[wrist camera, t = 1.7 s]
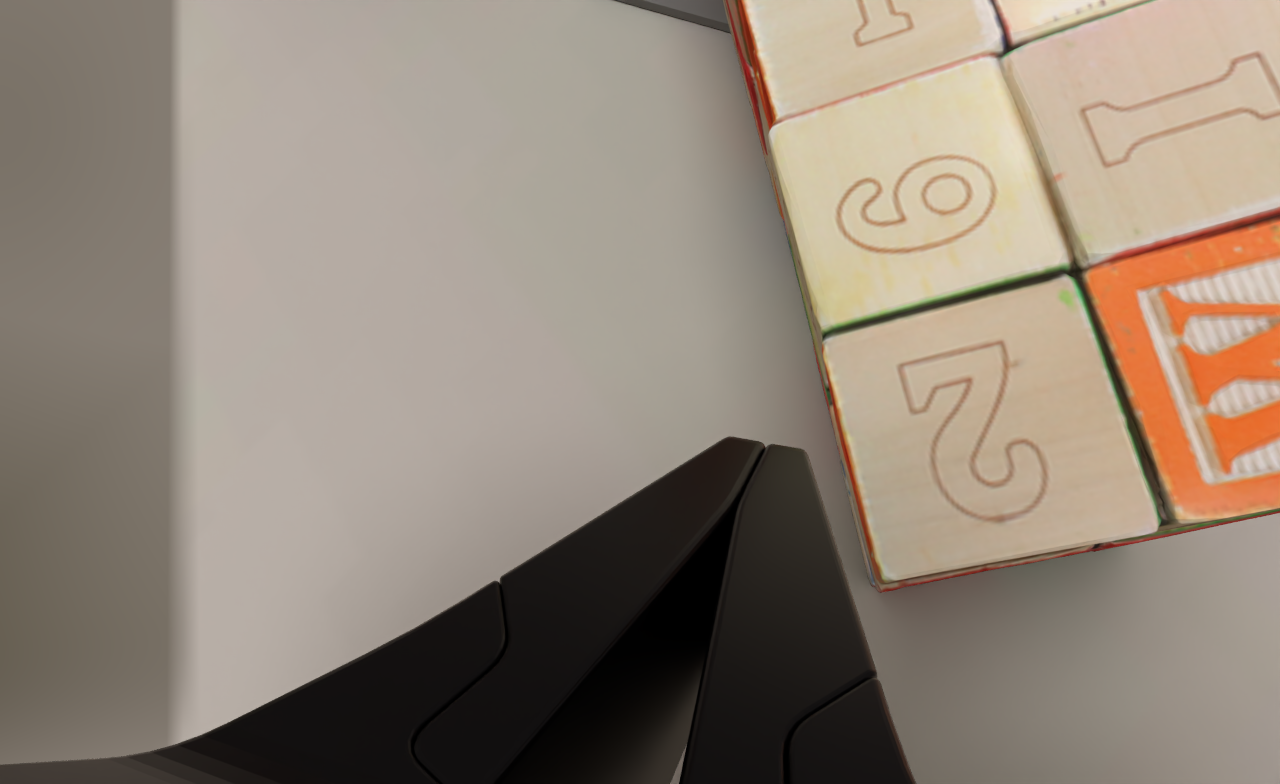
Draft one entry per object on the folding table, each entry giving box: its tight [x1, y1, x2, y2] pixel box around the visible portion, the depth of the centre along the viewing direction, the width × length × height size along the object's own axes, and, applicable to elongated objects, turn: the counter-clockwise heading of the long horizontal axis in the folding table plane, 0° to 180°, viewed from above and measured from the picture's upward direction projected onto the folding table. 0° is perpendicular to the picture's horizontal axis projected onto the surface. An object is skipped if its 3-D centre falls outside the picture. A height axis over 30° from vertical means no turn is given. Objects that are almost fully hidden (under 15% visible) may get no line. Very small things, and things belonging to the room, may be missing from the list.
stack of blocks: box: [723, 0, 1280, 593], centre depth 17 cm, size 21×6×12 cm, turn 10°
